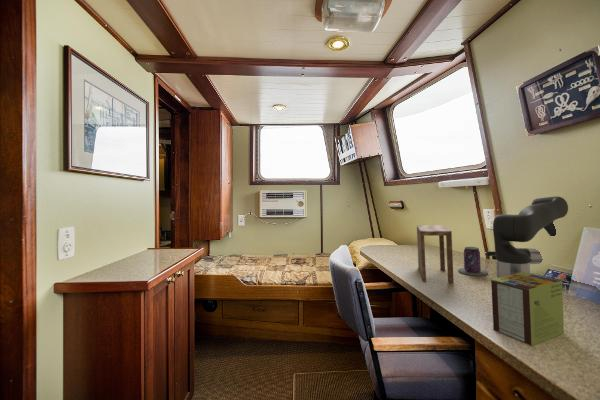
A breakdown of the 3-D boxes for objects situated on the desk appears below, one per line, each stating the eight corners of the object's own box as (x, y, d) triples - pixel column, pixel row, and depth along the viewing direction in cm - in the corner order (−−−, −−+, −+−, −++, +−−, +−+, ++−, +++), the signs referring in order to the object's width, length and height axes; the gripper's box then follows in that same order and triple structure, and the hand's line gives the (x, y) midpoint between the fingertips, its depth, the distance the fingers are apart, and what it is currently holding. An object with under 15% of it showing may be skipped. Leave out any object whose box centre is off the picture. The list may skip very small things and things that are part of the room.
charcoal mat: (487, 270, 143) (487, 269, 143) (487, 277, 132) (487, 276, 132) (459, 267, 150) (459, 266, 150) (456, 274, 140) (456, 272, 140)
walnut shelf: (444, 269, 149) (442, 225, 149) (453, 283, 126) (451, 231, 125) (418, 268, 154) (416, 225, 153) (422, 282, 130) (420, 231, 130)
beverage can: (461, 270, 143) (460, 247, 143) (470, 268, 146) (469, 246, 146) (475, 273, 137) (474, 249, 137) (483, 271, 140) (482, 248, 140)
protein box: (565, 333, 79) (562, 280, 79) (531, 346, 73) (529, 289, 73) (524, 319, 89) (522, 271, 89) (491, 329, 83) (489, 278, 83)
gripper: (521, 245, 140) (484, 245, 146) (535, 251, 127) (493, 250, 132) (522, 260, 140) (485, 259, 146) (535, 267, 127) (494, 266, 132)
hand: (489, 255), depth 139 cm, fingers open, 8 cm apart
